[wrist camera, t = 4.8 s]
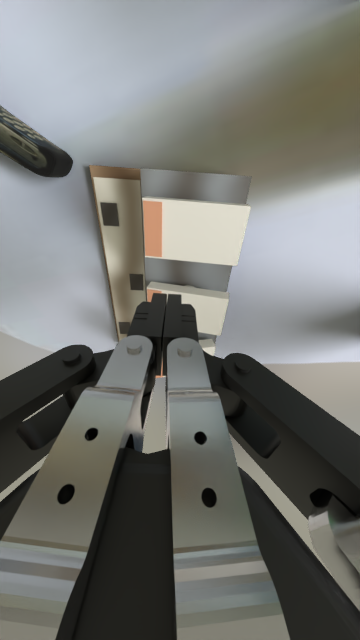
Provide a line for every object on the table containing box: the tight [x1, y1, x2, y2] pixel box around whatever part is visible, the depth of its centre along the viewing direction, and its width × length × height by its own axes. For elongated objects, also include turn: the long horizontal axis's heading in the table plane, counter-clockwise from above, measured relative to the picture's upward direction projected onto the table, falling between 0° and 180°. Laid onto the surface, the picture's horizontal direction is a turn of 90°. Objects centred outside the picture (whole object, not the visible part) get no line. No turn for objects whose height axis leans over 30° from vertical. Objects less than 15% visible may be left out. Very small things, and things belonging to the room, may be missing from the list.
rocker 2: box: [147, 281, 229, 336], centre depth 24 cm, size 9×5×3 cm, turn 86°
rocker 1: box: [142, 196, 251, 266], centre depth 19 cm, size 9×5×3 cm, turn 87°
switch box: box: [89, 165, 252, 344], centre depth 27 cm, size 16×26×6 cm, turn 177°
